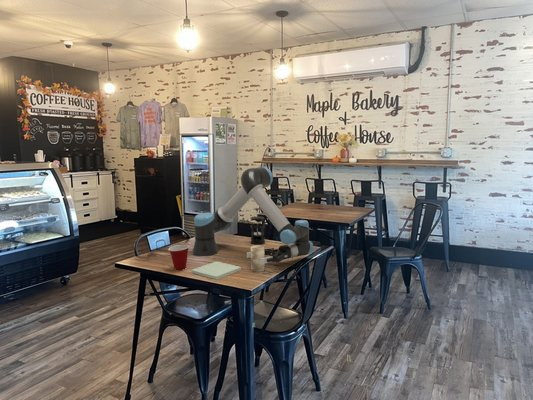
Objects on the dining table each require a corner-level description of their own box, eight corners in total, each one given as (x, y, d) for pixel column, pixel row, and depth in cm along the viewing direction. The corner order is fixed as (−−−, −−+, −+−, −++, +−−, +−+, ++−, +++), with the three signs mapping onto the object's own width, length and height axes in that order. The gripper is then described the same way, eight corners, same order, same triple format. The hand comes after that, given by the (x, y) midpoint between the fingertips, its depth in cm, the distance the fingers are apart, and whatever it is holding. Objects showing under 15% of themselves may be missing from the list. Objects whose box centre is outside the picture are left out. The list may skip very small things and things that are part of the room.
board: (191, 272, 202) (191, 270, 202) (216, 264, 216) (216, 261, 216) (216, 279, 191) (216, 276, 191) (241, 269, 205) (241, 267, 205)
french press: (256, 245, 253) (255, 210, 250) (246, 243, 260) (245, 208, 257) (269, 242, 262) (269, 207, 258) (259, 240, 268) (259, 206, 265)
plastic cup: (170, 266, 214) (169, 244, 212) (191, 265, 215) (190, 243, 213) (167, 272, 203) (166, 249, 202) (189, 271, 204) (187, 248, 202)
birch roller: (248, 270, 204) (247, 247, 203) (256, 266, 210) (256, 244, 208) (259, 272, 200) (258, 249, 199) (267, 269, 206) (267, 246, 204)
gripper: (301, 263, 204) (267, 271, 193) (275, 253, 225) (242, 259, 214) (301, 249, 203) (266, 256, 192) (274, 240, 224) (241, 246, 213)
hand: (253, 258), depth 203 cm, fingers open, 13 cm apart
